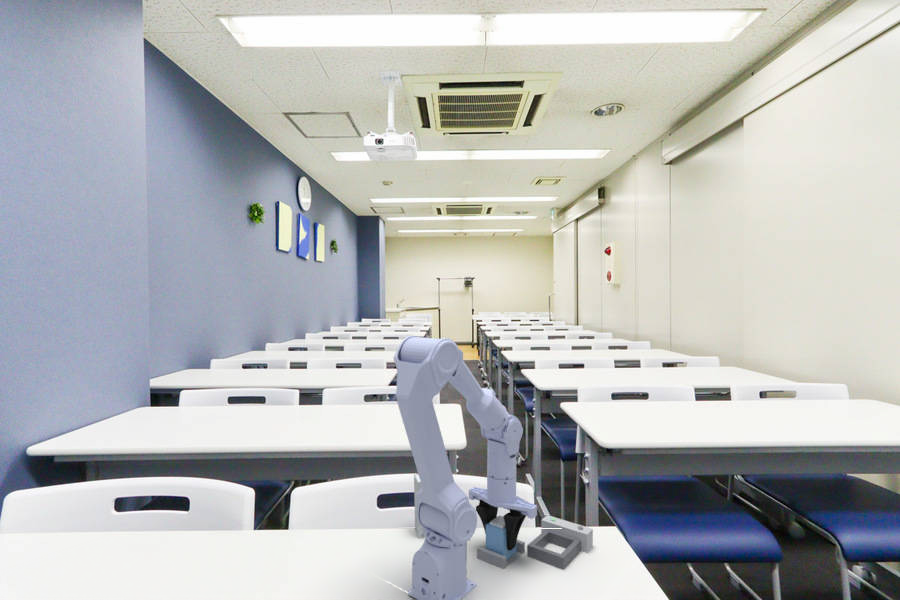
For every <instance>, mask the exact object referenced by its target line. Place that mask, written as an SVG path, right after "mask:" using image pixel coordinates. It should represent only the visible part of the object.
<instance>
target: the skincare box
mask: <svg viewBox="0 0 900 600" xmlns="http://www.w3.org/2000/svg"><path fill="white" fill-rule="evenodd" d="M421 487H422V485H421V481H420V478H419V474H418V472H416V473H414V474H413V488H414V489H413V490H414V492H413V493H414V494H413V495H414V529H415V531H416V534H417V538H418V539H425V537H426V536H425V534H423V526H421V525H420V524H419V522H418V520H417V500H416V494H417V493H418V491H419V490H420V488H421Z"/></svg>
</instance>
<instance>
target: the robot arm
mask: <svg viewBox="0 0 900 600" xmlns="http://www.w3.org/2000/svg"><path fill="white" fill-rule="evenodd" d="M392 358H393V361H394V365H395V367H396V373H397V375H396V377H397V378H396V391H395V394H396V395H395V397H396V398H395V399H396V403H397V405H398V409H399V413H400V417H401V419H402V424H403V425H404V431H405V434H406V436H407V439H408V444H409V446H410V451H411V453H412V457H413V460H414V463H415V467H416V471H417V473H418V474H419V478H420V481H421V485H422V487H421V488H420V490H419V491H418V493H417V494H416V500H417V520H418V522H419V524H420V525H421V526H423V534H425V536H426V537H425V538H424V541H423V543H422V545H421V546H420V548H419V549H418V550H417V551H416V552H415V553H414V555H413V557H412V562H411V563H412V567H411V574H412V575H411V577H412V578H411V589H410V590H408V593H407V594H408V596H410V597H412V598H414V599H415V600H462V598H464V597H465V596H466V595H467V594H469V593H470V592H472V591H473V590H474V589H475V588H476V587H477V586H478V583H476V582H475V581H473V580H471V579H468V577H467V576H468V574H467V573H468V570H467V569H468V544H467V543H468V542H469V541H471V538H473V536H474V534H475V533H476V529H477V526H478V524H477V523H478V517H479V518H480V521H481V523H482V526H483V527H482V528H483V530H484V533H485V535H486V524H488V523H490V521H492V520H493V519H495V518H496V517H498V512H499V511H498V510H499V508H501V509H504V510H508V511H509V512H507V513H506V514H504V515H502V516H503V518H504V521H505V526H506V533H507V550H509V551H511V550H512V549H513V548H515V546H516V541H517V540H518V536H519V534H520V530H521V527H522V525H523V523H524V521H525V519H526V517H527V518H528V519H531V520H533V519H534V518H536V517H537V516H538V506H537V504H533V503H531V502H529V501H528V500H525V499H523V498H521V497H520V496H518V495H517V454H518V452H519V450H520V441H521V439H522V438H523V437H522V436H523V433H524V428H523V426H522V423H521V421H520V420H519V418H518V417H517V416H515V415H513V414H510V413H509V412H508V411H507V408H506V406H505V405H503V404H502V403H501V401H500V400H499V399H498V397H497V396H496V395H497V393H496V391H494V389H490V388H486V387H481V385H480V384H479V382H478V380H477V379H476V377H475V376H474V375H473V373H472V372H471V370H470V368H469V367H468V366H467V364H466V363H465V361H464V352H463V350H461V349H460V348H459V347H458V345H457V343H456V342H455V341H454V340H453V339H451V338H447V337H443V338H437V337H436V338H433V337H421V336H417V335H409V336H407V337H405V338H403V340H402V341H401V342H400V343H399V346H398V348H397V349H396V352H395V353H394V355H393V357H392ZM448 382H449V384H450V385H451V386H452V387H454V389H455V390H456V391H457V392H458V393H460V395H461V396H462V397H464V399H465V400H466V403H465V405H466V410H467V411H468V412H469V414H470V415H471V416H472V418H474V420H475V421H476V422H477V423H478V425H479V427H480V434H481V436H482V437H483V438H484V439H486V440H487V442H486V443H487V450H486V451H487V454H486V456H487V457H486V459H487V461H486V468H487V469H486V488H481V487H476V486H473V487H471V488H469V489H468V495H467V494H466V492H465V491H464V490H463V489H462V488H461V487H460V486H459V485H458V484H457V483H456V481H455V479H454V475H453V473H452V472H453V471H452V468H451V465H450V464H451V463H450V462H449V457H448V454H447V450H446V446H445V443H444V442H445V441H444V439H443V435H442V432H441V428H440V425H439V421H438V416H437V414H436V413H437V412H436V410H435V407H434V403H433V399H434V397H435V396H437V395H438V394H439V393H440V392H441V391H442V389H443V388H444V387H445V386H446V385H447V383H448ZM469 500H471V501H474V500H476V501H479V503H478V505H476V506H475V507H474V506H473V505H471V503H470V501H469ZM477 514H478V515H477Z"/></svg>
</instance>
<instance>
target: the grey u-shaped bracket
mask: <svg viewBox="0 0 900 600" xmlns="http://www.w3.org/2000/svg"><path fill="white" fill-rule="evenodd" d="M525 543H526V542H525V541H523V540H520V539H517V541H516V553H515V554H514V555H513V556H511V557H510V558H509V559H508V560H507V557H506V556H503V555H501V554H498V553H495V552H493V551H490V550H488V549H486V547H482V546H479V547H477V548H476V558H477V560H480V561H483V562H486V563H488V564H490V565H493V566H495V567H496V568H497V567H498V568H499V569H503V570H505V569H506V568H507V567H508V566H509V565H511V564H512V563H513V562H514V561H516V559H518V558H519V557H520V556H521V555H522V554H524V553H525V549H526V548H525V547H526V544H525Z"/></svg>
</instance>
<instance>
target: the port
mask: <svg viewBox="0 0 900 600" xmlns="http://www.w3.org/2000/svg"><path fill="white" fill-rule="evenodd" d="M540 522H541V523H540V526H541V528H562V529H541V528H540V529H541V530H540V531H541V532H540V534H539V535H538V536H536V537H535V538H534V539H533V540H531V542H529V543H528V544H527V545H526V546H527V547H526V549H527V552H526V556H527V557H528V558H530V559H534V560H536V561H539V562H542V563H544V564H547V565H550V566H551V567H554V568H558V569H559V570H560V569H561V570H562V571H564V570H565V569H566V568H567V567H568V565H570V563H572V561H573V560H574V559H575V558H576V557H577V556H578V555H579V554H580V553H581V552H583V553H585V554H588V553H589V552H590V551H591V549H593V546H594V545H593V543H594V542H593V541H594V540H593V539H594V535H593V533H594V530H593V528H591V527H588V526H584V525H581V524H578V523H576V522H571V521H568V520H565V519H562V518H558V517H555V516H553V515H548V514H546V516H544V517H543V518H542V519H541V521H540ZM548 544H552V545H555V546H557V547H561V548H562V549H563V551H562V552H561V553H559V552H555V551H553V550H550V549H547V548H545V547H547V545H548Z"/></svg>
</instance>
